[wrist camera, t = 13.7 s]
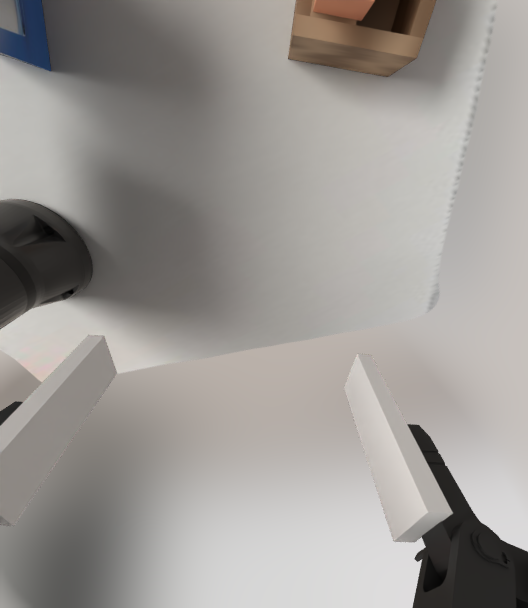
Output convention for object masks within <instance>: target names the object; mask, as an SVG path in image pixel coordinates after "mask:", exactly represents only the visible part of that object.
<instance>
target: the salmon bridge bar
mask: <svg viewBox="0 0 528 608" xmlns="http://www.w3.org/2000/svg"><path fill="white" fill-rule="evenodd" d="M374 2H375V0H315V2H314V8H313V12H317V13H323V14H328V15H333V16H338V17H343V18H348V19H354V20H359V21H362V19H363V18H364V16H365V15H366V13H367V12H368V10H369V9H370V7H371V6H372V5H373V3H374Z"/></svg>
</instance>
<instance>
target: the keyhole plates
mask: <svg viewBox="0 0 528 608" xmlns="http://www.w3.org/2000/svg"><path fill="white" fill-rule="evenodd" d="M314 2H315V0H296V4H295V12H294V19H293V26H292V34H291V41H290V48H289V56H288V59H292V60H298V61H303V62H309V63H314V64H320V65H325V66H331V67H336V68H342V69H347V70H352V71H358V72H363V73H369V74H374V75H380V76H385V77H388V76H390V75H392V74H393V73H395V72H396V71H398V70H399V69H401V68H402V67H404V66H405V65H407V64H408V63H410V62H412V61H413V60H415V59H416V58H417V56H418V53H419V50H420V47H421V44H422V41H423V38H424V35H425V32H426V29H427V26H428V23H429V20H430V18H431V15H432V12H433V9H434V6H435V3H436V0H375V2H374V3H373V5H372V6H371V7H370V9H369V10H368V12H367V13H366V15H365V16H364V18H363V19H362V21H359V20H354V19H348V18H343V17H338V16H333V15H328V14H323V13H317V12H313V8H314Z"/></svg>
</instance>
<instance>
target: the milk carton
mask: <svg viewBox="0 0 528 608" xmlns="http://www.w3.org/2000/svg"><path fill="white" fill-rule="evenodd" d="M0 54H2V55H5V56H7V57H10V58H13V59H16V60H19V61H22V62H25V63H28V64H31V65H34V66H37V67H40V68H43V69H46V70H49V71H51V66H50V58H49V51H48V44H47V37H46V29H45V22H44V15H43V8H42V0H0Z"/></svg>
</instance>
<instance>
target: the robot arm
mask: <svg viewBox="0 0 528 608" xmlns="http://www.w3.org/2000/svg"><path fill="white" fill-rule="evenodd" d="M91 276H92V261H91V257H90V254H89V251H88V249H87V247H86V245H85V244H84V242H83V240H82V239H81V237H80V236H79V235H78V234H77V232H76V231H75V230H74V229H73V228H72V227H71V226H70V225H69V224H68V223H67V222H66V221H65V220H63V219H62V218H61V217H60V216H58V215H57V214H55V213H54V212H52V211H50V210H49V209H47V208H45V207H43V206H41V205H38V204H36V203H33V202H30V201H26V200H20V199H7V200H1V201H0V329H1V328H3V327H4V326H6V325H7V324H9V323H10V322H12V321H13V320H15V319H16V318H18V317H19V316H21V315H22V314H24V313H25V312H27V311H28V310H30V309H32V308H35V307H39V306H43V305H46V304H50V303H54V302H58V301H61V300H65V299H68V298H70V297H72V296H74V295H75V294H77V293H78V292H80V291H81V290H82V289H84V288H85V287H86V286H87V284H88V283H89V281H90V279H91ZM116 374H117V372H116V369H115V366H114V363H113V360H112V357H111V354H110V351H109V349H108V346H107V343H106V340H105V337H104V336H97V335H88V336H87V337H86V338H85V339H84V340H83V341H82V342H81V343H80V344H79V345H78V346H77V348H76V349H75V350H74V351H73V352H72V353H71V354H70V355H69V356H68V357H67V358H66V359H65V360H64V361H63V362H62V363H61V364H60V365H59V366H58V367H57V368H56V369H55V370H54V371H53V372H52V373H51V374H50V375H49V376H48V377H47V378H46V379H45V380H44V381H43V383H42V384H41V385H40V386H39V387H38V388H37V389H36V390H35V391H34V392H33V393H32V394H31V395H30V396H29V397H28V398H27V399H26V400H25V401H24V402H14V403H12V404H11V405H9V406H8V407H6V408H5V409H3V410H2V411H0V525H4V526H14V525H15V524H16V522H17V521H18V519H19V518H20V516H21V515H22V513H23V512H24V510H25V509H26V507H27V506H28V504H29V503H30V502H31V500H32V499H33V497H34V496H35V494H36V493H37V491H38V490H39V488H40V487H41V485H42V484H43V482H44V481H45V479H46V478H47V476H48V475H49V473H50V472H51V470H52V469H53V468H54V466H55V465H56V463H57V462H58V460H59V458H60V457H61V456H62V454H63V453H64V451H65V450H66V448H67V447H68V445H69V444H70V442H71V441H72V439H73V438H74V436H75V435H76V433H77V432H78V430H79V429H80V428H81V426H82V425H83V423H84V422H85V420H86V419H87V417H88V416H89V414H90V413H91V411H92V410H93V408H94V407H95V405H96V404H97V402H98V401H99V399H100V398H101V396H102V395H103V393H104V392H105V390H106V389H107V388H108V386H109V384H110V383H111V382H112V380H113V378H114V377H115V376H116ZM344 391H345V393H346V397H347V400H348V403H349V406H350V409H351V412H352V415H353V418H354V421H355V424H356V427H357V431H358V433H359V437H360V440H361V443H362V446H363V449H364V452H365V455H366V458H367V461H368V464H369V467H370V470H371V474H372V477H373V480H374V483H375V486H376V489H377V492H378V495H379V498H380V501H381V504H382V507H383V511H384V514H385V517H386V520H387V523H388V526H389V529H390V532H391V535H392V538H393V541H395V542H416V541H417V540H418V539H420V538H421V537H422V539H423V541H424V544H425V546H426V548H424V549H423V550H421V551H420V552H418V553H417V555H416V557H415V560H416V561H417V562H418V561H420V560H421V559H422V563H421V568H420V573H419V579H418V584H417V588H416V593H415V598H414V603H413V608H528V552H527V551H525V550H522V549H520V548H518V547H515V546H513V545H510V544H508V543H506V542H504V541H502V540H500V538H499V537H498V536H497V535H496V534H495V533H494V532H493V531H492V530H491V529H490V528H489V527H487V526H486V525H484V524H482V523H481V522H480V521H479V520H478V518H477V517H476V516H475V514H474V513H473V511H472V510H471V508H470V506H469V504H468V503H467V501H466V499H465V497H464V495H463V494H462V492H461V490H460V489H459V487H458V485H457V483H456V482H455V480H454V478H453V476H452V475H451V473H450V471H449V469H448V468H447V466H445V463H444V461H443V459H442V457H441V455H440V454H439V453H438V450H437V449H436V447H435V445H434V443H433V441H432V440H431V438H430V437H429V435H428V434H427V433H426V432H425V431H424V430H423V429H422V428H421V427H420V426H419V425H410V424H407V423H406V421H405V419H404V417H403V415H402V414H401V412H400V409H399V408H398V406H397V404H396V402H395V400H394V398H393V396H392V394H391V392H390V390H389V388H388V386H387V384H386V382H385V380H384V378H383V376H382V374H381V373H380V371H379V369H378V367H377V365H376V363H375V361H374V359H373V357H372V355H367V354H357V356H356V358H355V361H354V363H353V366H352V368H351V371H350V373H349V376H348V378H347V381H346V383H345V386H344Z"/></svg>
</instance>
